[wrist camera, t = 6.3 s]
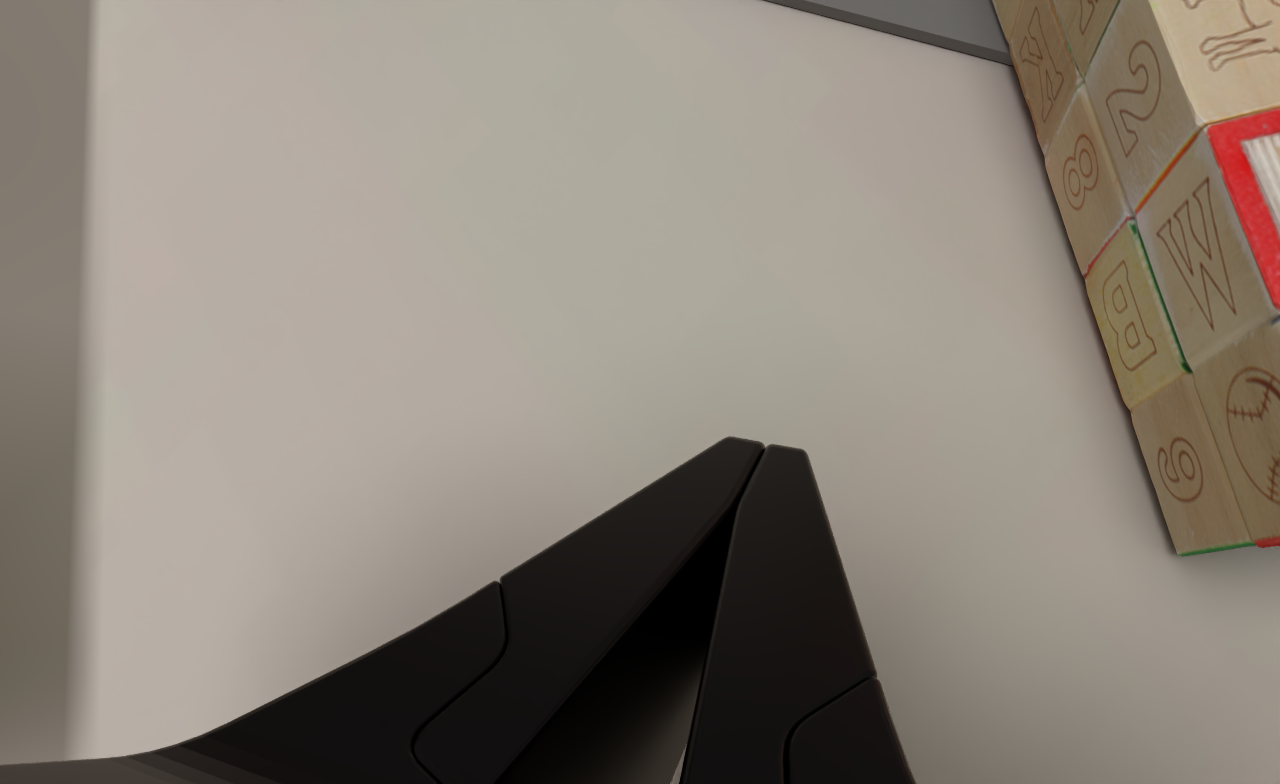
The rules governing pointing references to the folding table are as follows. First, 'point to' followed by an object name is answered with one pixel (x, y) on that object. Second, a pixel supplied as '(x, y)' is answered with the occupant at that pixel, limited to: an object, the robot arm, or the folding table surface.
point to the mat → (924, 22)
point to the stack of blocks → (1174, 232)
